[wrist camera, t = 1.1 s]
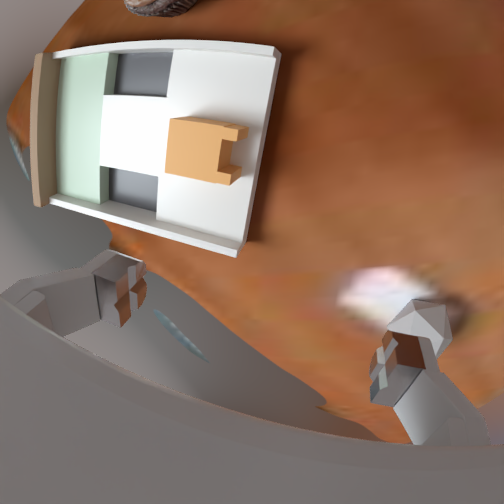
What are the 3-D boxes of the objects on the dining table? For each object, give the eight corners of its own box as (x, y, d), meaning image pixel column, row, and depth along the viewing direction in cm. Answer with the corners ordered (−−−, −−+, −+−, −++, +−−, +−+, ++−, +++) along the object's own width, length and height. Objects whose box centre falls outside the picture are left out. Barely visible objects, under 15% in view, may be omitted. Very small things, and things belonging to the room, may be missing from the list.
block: (186, 116, 32) (169, 118, 29) (249, 126, 31) (238, 128, 28) (180, 165, 35) (164, 172, 32) (240, 177, 34) (229, 186, 31)
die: (373, 314, 41) (387, 381, 36) (402, 288, 34) (422, 368, 29) (418, 307, 42) (433, 368, 37) (450, 281, 35) (471, 352, 30)
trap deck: (65, 54, 34) (35, 54, 28) (281, 53, 29) (270, 42, 23) (60, 192, 45) (34, 205, 40) (246, 242, 40) (230, 265, 35)
